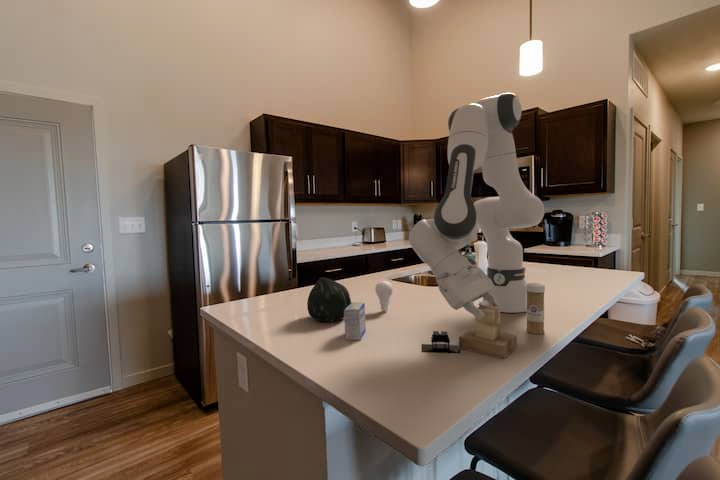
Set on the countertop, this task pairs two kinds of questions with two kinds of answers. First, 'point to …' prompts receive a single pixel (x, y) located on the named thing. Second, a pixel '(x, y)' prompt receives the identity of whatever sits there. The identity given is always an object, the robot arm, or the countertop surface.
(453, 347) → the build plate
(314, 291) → the squash
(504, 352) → the walnut base block
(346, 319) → the medicine box
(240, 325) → the countertop surface
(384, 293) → the lightbulb
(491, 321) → the oak block
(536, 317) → the sprinkles bottle
